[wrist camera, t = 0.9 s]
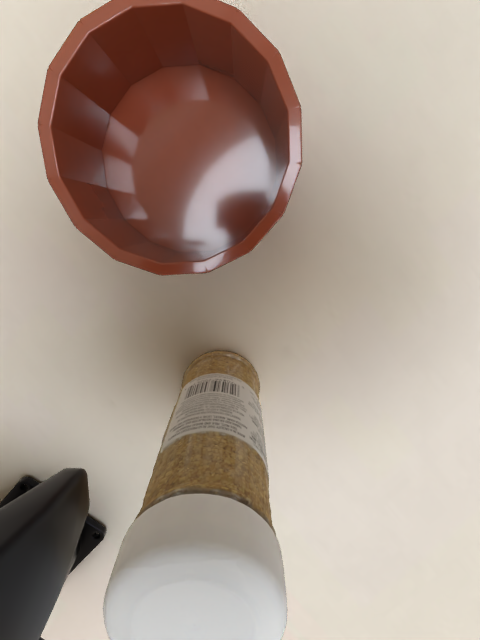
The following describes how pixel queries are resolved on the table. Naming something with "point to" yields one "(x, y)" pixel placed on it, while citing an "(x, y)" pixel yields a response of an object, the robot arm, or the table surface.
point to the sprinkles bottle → (204, 522)
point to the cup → (171, 133)
